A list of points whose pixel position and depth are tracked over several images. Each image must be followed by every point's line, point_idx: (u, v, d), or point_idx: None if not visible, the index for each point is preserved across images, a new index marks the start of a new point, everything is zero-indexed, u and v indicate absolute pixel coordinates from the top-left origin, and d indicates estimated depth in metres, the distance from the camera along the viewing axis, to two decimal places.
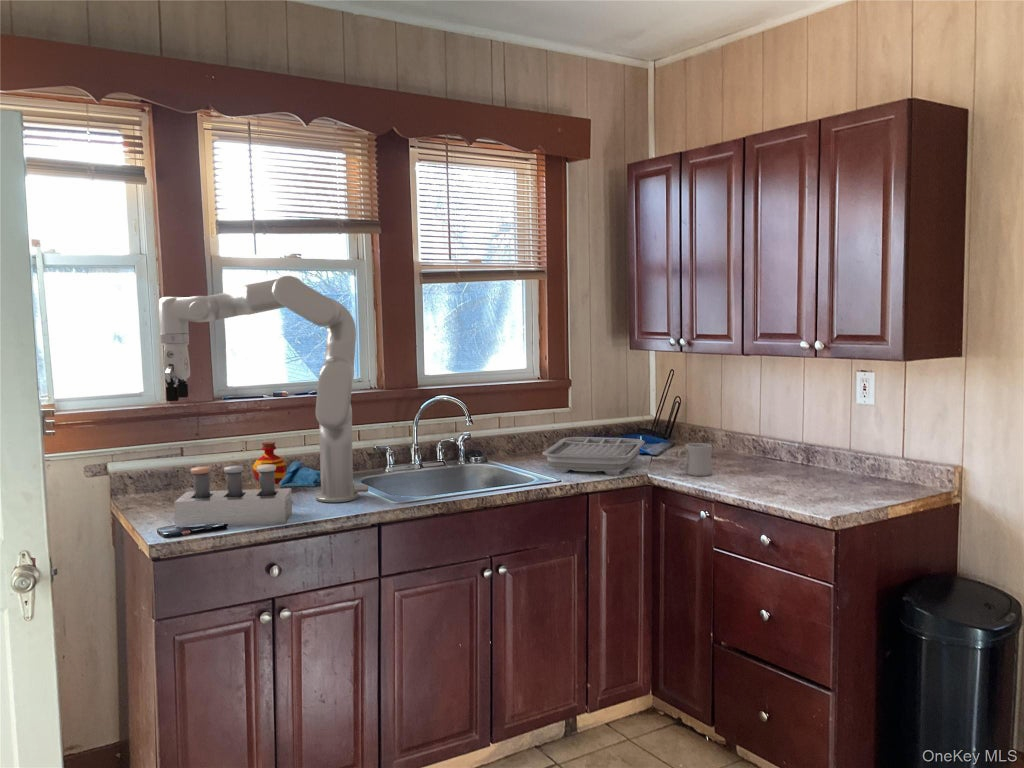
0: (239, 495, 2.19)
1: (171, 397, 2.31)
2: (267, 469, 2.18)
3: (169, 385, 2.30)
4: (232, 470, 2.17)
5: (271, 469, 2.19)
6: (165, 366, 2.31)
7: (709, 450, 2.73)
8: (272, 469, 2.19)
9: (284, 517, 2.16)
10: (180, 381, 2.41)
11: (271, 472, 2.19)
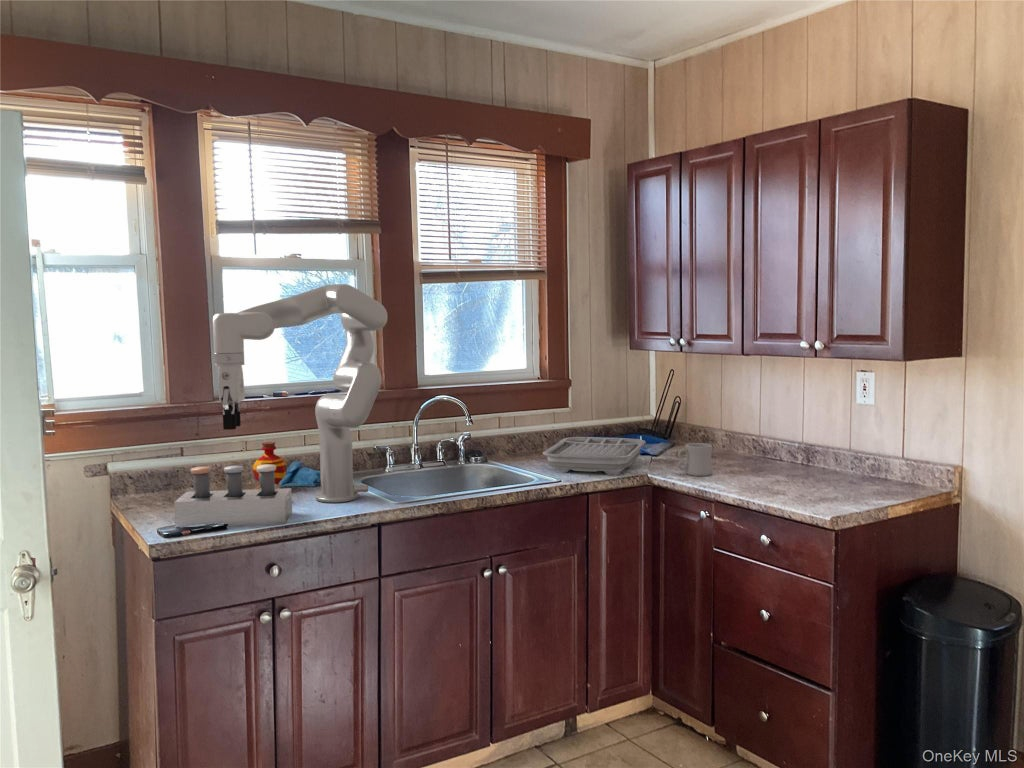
0: (239, 495, 2.19)
1: (228, 425, 2.14)
2: (267, 469, 2.18)
3: (227, 412, 2.14)
4: (232, 470, 2.17)
5: (271, 469, 2.19)
6: (220, 388, 2.12)
7: (709, 450, 2.73)
8: (272, 469, 2.19)
9: (284, 517, 2.16)
10: (232, 408, 2.21)
11: (271, 472, 2.19)
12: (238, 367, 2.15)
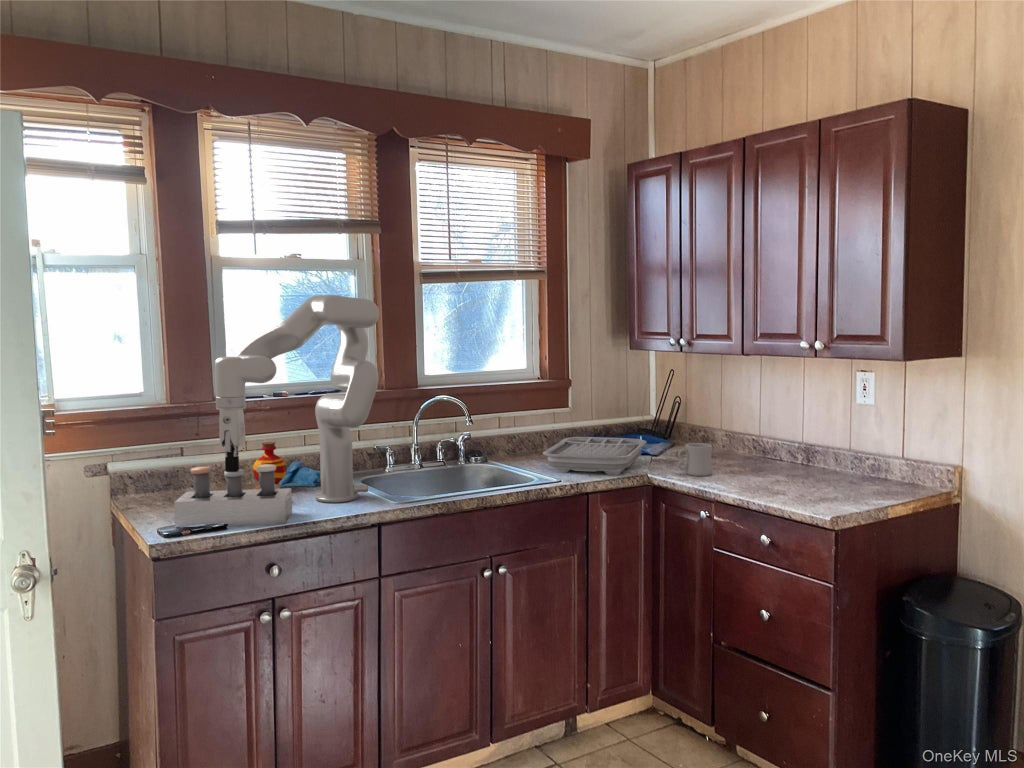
0: None
1: (231, 468, 2.17)
2: (267, 469, 2.18)
3: (229, 455, 2.17)
4: (232, 474, 2.17)
5: (271, 469, 2.19)
6: (221, 432, 2.13)
7: (709, 450, 2.73)
8: (272, 469, 2.19)
9: (284, 517, 2.16)
10: None
11: (271, 472, 2.19)
12: (239, 411, 2.16)
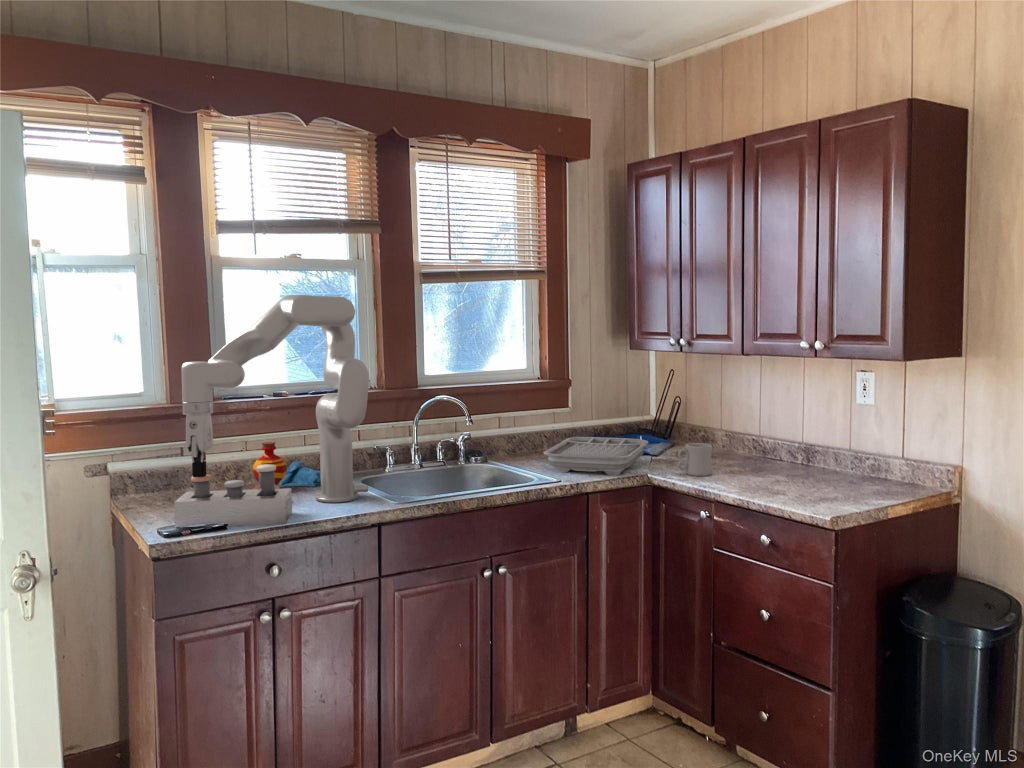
0: None
1: (198, 473, 2.17)
2: (267, 469, 2.18)
3: (196, 460, 2.16)
4: (233, 485, 2.17)
5: (271, 469, 2.19)
6: (187, 438, 2.12)
7: (709, 450, 2.73)
8: (272, 469, 2.19)
9: (284, 517, 2.16)
10: None
11: (271, 472, 2.19)
12: (206, 416, 2.15)
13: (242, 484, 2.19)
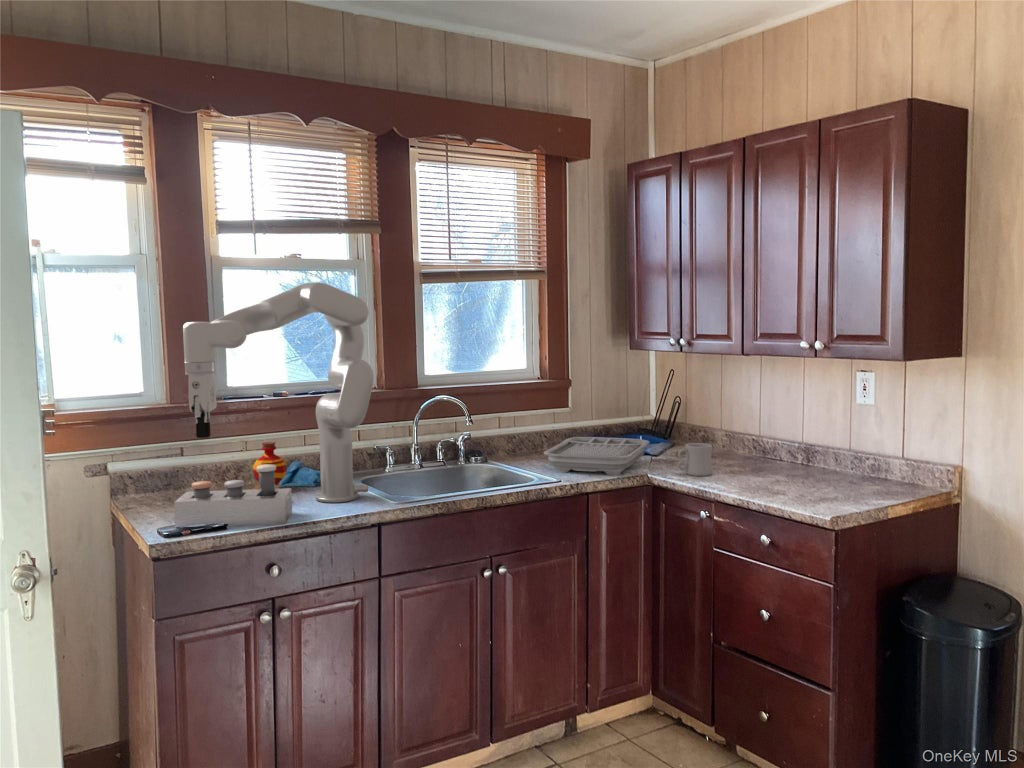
0: None
1: (202, 433, 2.16)
2: (267, 469, 2.18)
3: (199, 421, 2.15)
4: (233, 485, 2.17)
5: (271, 469, 2.19)
6: (190, 398, 2.12)
7: (709, 450, 2.73)
8: (272, 469, 2.19)
9: (284, 517, 2.16)
10: None
11: (271, 472, 2.19)
12: (209, 376, 2.15)
13: (242, 484, 2.19)
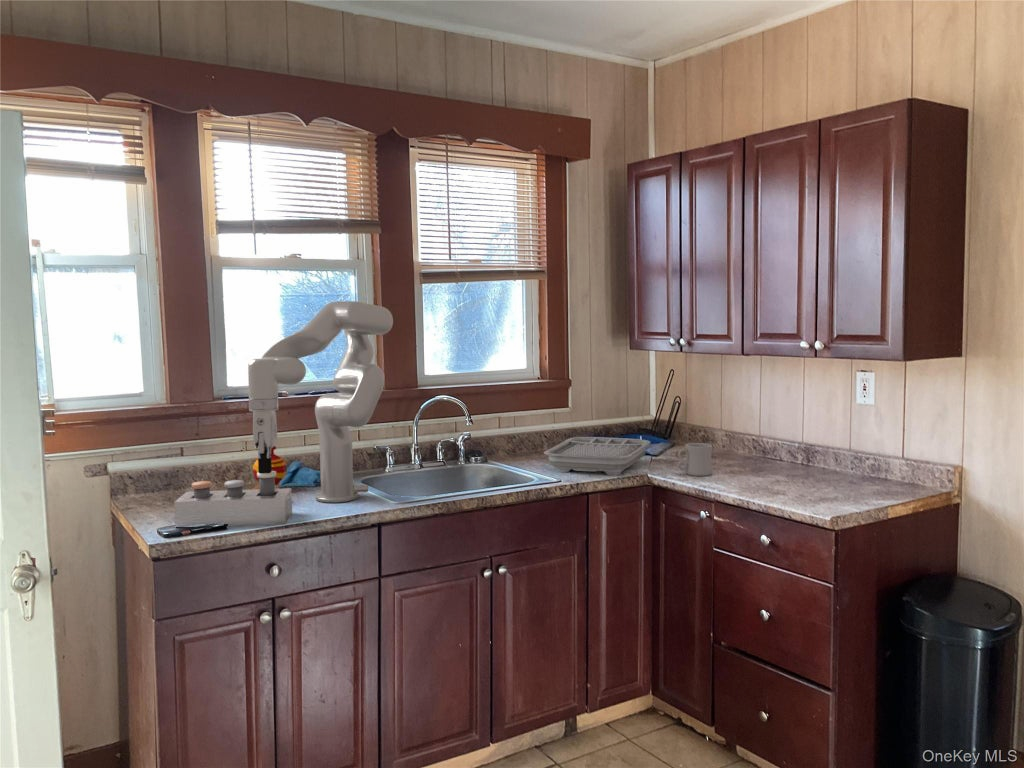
0: None
1: (264, 469, 2.18)
2: (267, 475, 2.18)
3: (262, 457, 2.18)
4: (233, 485, 2.17)
5: (271, 475, 2.19)
6: (255, 434, 2.14)
7: (709, 450, 2.73)
8: (272, 475, 2.19)
9: (284, 517, 2.16)
10: None
11: (271, 478, 2.19)
12: (272, 412, 2.17)
13: (242, 484, 2.19)
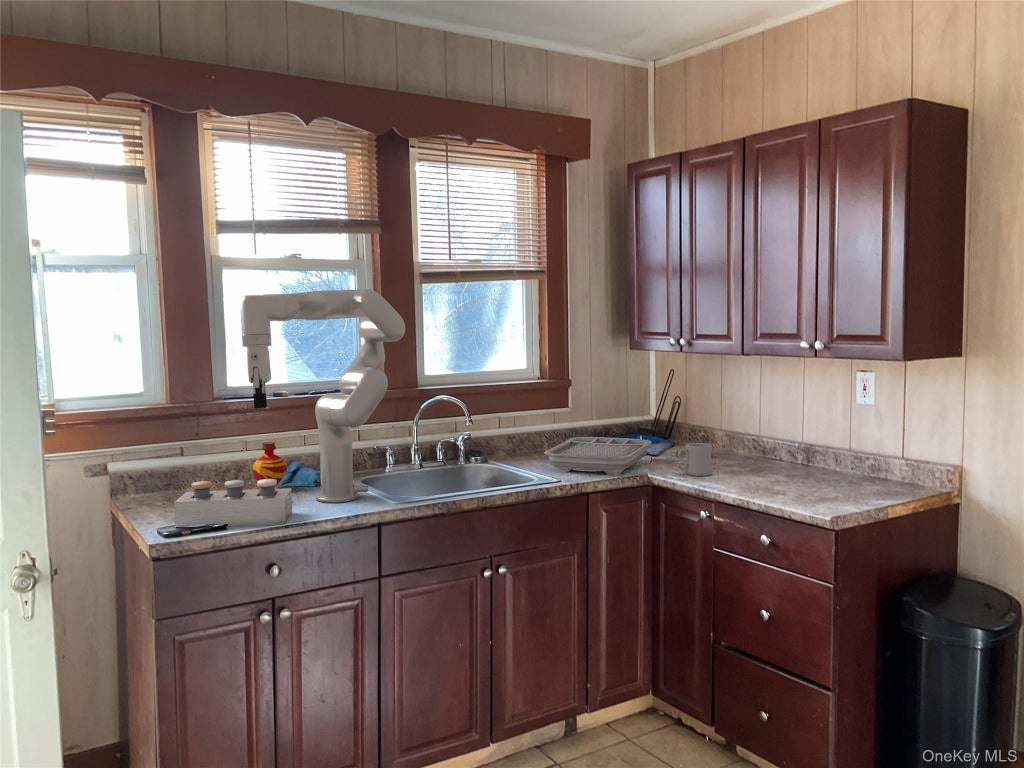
0: None
1: (259, 404, 2.22)
2: (268, 484, 2.18)
3: (257, 392, 2.21)
4: (233, 485, 2.17)
5: (272, 484, 2.19)
6: (250, 369, 2.17)
7: (709, 450, 2.73)
8: (273, 484, 2.19)
9: (284, 517, 2.16)
10: None
11: (272, 487, 2.20)
12: (266, 348, 2.20)
13: (242, 484, 2.19)
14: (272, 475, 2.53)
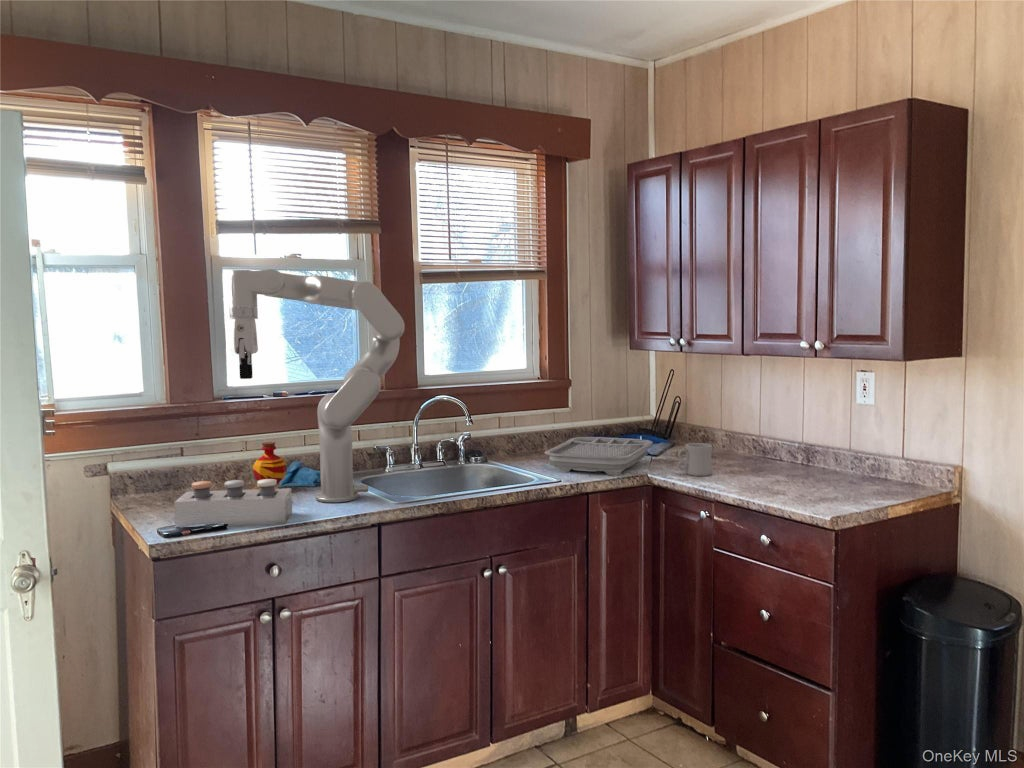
0: None
1: (245, 375, 2.32)
2: (268, 484, 2.18)
3: (243, 363, 2.31)
4: (233, 485, 2.17)
5: (272, 484, 2.19)
6: (235, 340, 2.27)
7: (709, 450, 2.73)
8: (273, 484, 2.19)
9: (284, 517, 2.16)
10: None
11: (272, 487, 2.20)
12: (252, 320, 2.30)
13: (242, 484, 2.19)
14: (272, 475, 2.53)
